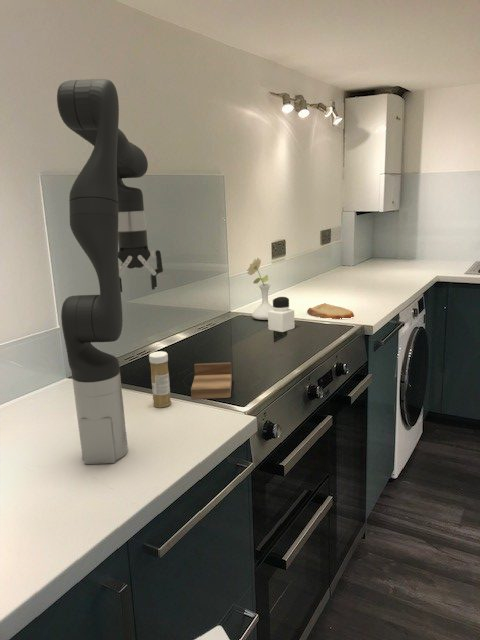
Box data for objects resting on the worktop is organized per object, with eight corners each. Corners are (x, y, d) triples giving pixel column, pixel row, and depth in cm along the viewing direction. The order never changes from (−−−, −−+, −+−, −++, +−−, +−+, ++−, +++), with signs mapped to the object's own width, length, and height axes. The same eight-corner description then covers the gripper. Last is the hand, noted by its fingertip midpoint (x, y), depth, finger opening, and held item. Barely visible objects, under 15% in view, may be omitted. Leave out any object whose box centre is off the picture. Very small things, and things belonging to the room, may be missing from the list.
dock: (230, 397, 138) (229, 377, 137) (191, 399, 139) (190, 378, 137) (231, 381, 150) (230, 362, 149) (195, 382, 150) (194, 363, 149)
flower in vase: (268, 313, 227) (266, 254, 221) (285, 318, 218) (283, 256, 212) (242, 319, 220) (240, 257, 214) (259, 324, 211) (256, 260, 205)
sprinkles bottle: (153, 401, 138) (149, 351, 135) (171, 400, 138) (167, 350, 135) (152, 409, 134) (148, 357, 130) (171, 407, 134) (167, 355, 131)
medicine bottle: (294, 328, 202) (294, 296, 199) (283, 332, 197) (282, 300, 194) (280, 325, 207) (279, 294, 204) (268, 329, 202) (266, 298, 199)
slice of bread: (356, 319, 212) (356, 310, 211) (310, 321, 213) (309, 312, 212) (348, 309, 229) (348, 301, 228) (306, 311, 230) (306, 302, 229)
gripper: (104, 231, 136) (110, 295, 140) (161, 228, 140) (165, 290, 143) (103, 230, 143) (109, 290, 147) (157, 227, 147) (161, 286, 150)
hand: (137, 290), depth 145 cm, fingers open, 8 cm apart
